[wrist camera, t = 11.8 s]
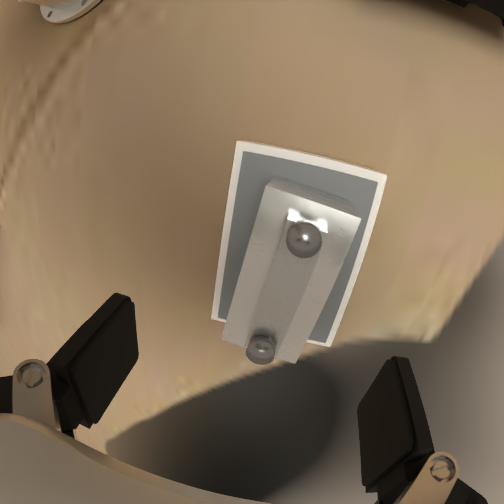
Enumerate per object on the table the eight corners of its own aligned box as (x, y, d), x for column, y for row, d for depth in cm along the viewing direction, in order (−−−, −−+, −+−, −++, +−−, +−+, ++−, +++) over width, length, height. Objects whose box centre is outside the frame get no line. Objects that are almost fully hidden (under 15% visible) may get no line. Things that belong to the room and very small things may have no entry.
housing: (275, 174, 19) (259, 192, 13) (350, 200, 18) (367, 229, 12) (236, 303, 23) (212, 357, 17) (299, 324, 22) (292, 383, 16)
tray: (221, 300, 27) (209, 321, 24) (246, 140, 21) (235, 140, 18) (329, 326, 26) (330, 350, 23) (377, 170, 20) (388, 176, 17)
